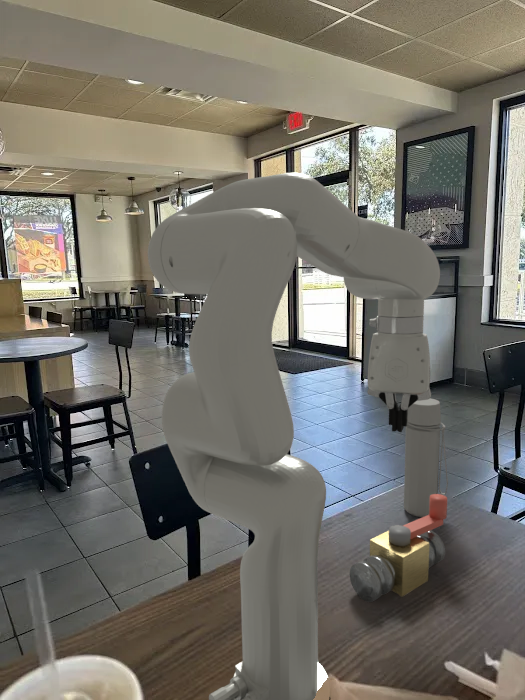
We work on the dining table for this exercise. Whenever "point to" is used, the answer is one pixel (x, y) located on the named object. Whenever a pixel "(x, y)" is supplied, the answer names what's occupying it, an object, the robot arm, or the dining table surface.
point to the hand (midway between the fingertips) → (397, 429)
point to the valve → (396, 565)
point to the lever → (420, 522)
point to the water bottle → (422, 456)
